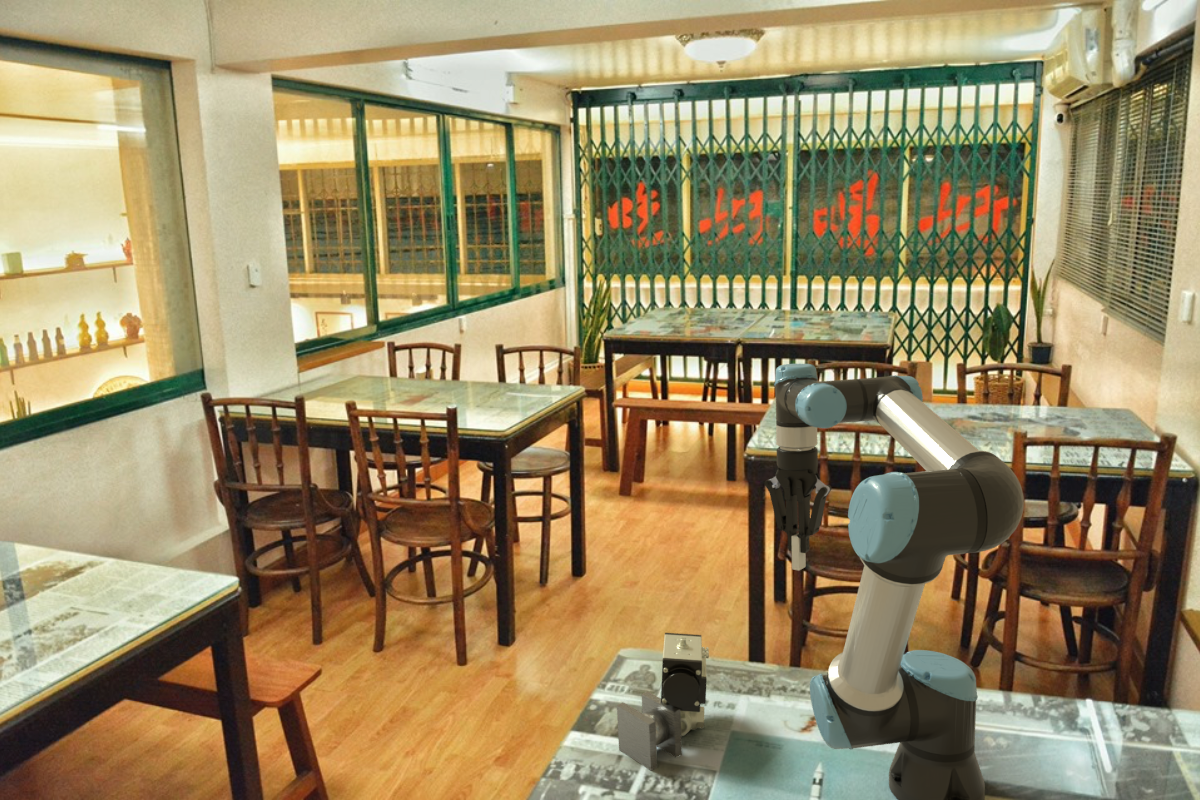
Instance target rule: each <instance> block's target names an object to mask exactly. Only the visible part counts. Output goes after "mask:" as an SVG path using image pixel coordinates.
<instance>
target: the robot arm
mask: <svg viewBox="0 0 1200 800" xmlns="http://www.w3.org/2000/svg"><path fill="white" fill-rule="evenodd" d="M817 374H818V373H817V369H816V366H815V365H814V364H810V363H789V364H788V363H786V364H782V365H778V367H776V369H775V377H774V384H773V385H774V386H773V387H774V389H775V390H774V391H775V392H774V393H775V396H774V397H775V420H776V422H775V424H776V426H775V429H776V432H775V436H776V437H775V439H776V441H775V444H776V445H777V446H778V447H777V448H776V466H777V470H776V473H775V476H773V477H772V478H770V479H767V480H765V481H764V486H765V487H766V489H767V491H768V493H769V496H770V497H769V498H770V501H771V505H772V508H773V513H774V517H775V518H774V519H775V521H776V524H777V525H776V526H777V529H778V530H779V531H783V532H785V533H786V535H787V550H788V551H789V552H791V570H795V571H801V570H802V569H804V568H806V566H807V564H806V563H807V562H806V560H807V559H806V554H807V553H808V552H809V551H810V537H811V536H813V535H815V534H817V533H818V532H819V531H820V527H821V524H822V523H821V522H822V518H823V514H824V510H825V506H826V502H827V497H828V496H829V494H830V493H831V491H832V486H831V485H830V484H825V483H824V482H823V481H821V478H820V477H821V476H820V475H819V472H818V466H819V465H818V463H819V461H818V458H819V457H818V455H819V453H818V452H819V451H818V448H817V446H816V445H818V428H819V429H830V428H834V426H837V425H838V424H841V423H842V424H844V423H854V422H855V423H856V422H873V421H876V422H877V424H879V425H880V426H881V428H883V429H884V430H885V431H886V432H887V433H888V434H889V435H891V437H892V438H893V439H895V441H896V442H897V443H898V444H899V445H900V446H901V447H902V448H903V449H904V450H906V451H907V453H908V454H909V455H910V456H911V457H912V458H913V459H914V460H915V461H916V462H917V463H918V464H919V465H920V466H921V467H922V468H923V469H924V470H925V471H917V472H916V471H915V472H907V473H906V472H905V473H904V472H900V471H899V472H898V471H891V472H887V473H884V474H879V475H873V476H869V477H867V478H865V479H863V480H862V481H861V482H860V483H859V484H858V485H857V486H856V487H855V489H854V491H853V493H852V496H851V498H850V501H849V506H848V512H847V513H848V514H847V517H848V519H849V523H848V524H847V525H848V526H847V527H848V528H847V530H848V536H849V539H850V543H851V546H852V549H853V551H854V552H855V553H856V555H857V556H858V557H859V560H860V561H861V563H863V568H862V569H863V570H862V573H861V576H860V577H861V578H860V582H859V585H858V589H857V595H856V598H855V602H854V606H853V610H852V614H851V619H850V623H849V625H848V626H849V627H848V631H847V635H846V639H845V644H844V647H843V650H842V652H841V653H838V654H837V655H836V656H835V657H834V658H833V659H832V661H831V662H830V665H829V666H828V670H827V673H826V674H822V673H818V675H814V676H812V677H811V679H810V681H809V693H810V702H811V707H812V711H813V715H814V719H815V723H816V725H817V728H818V730H819V733H820V735H821V737H822V739H823V741H824V743H825V744H827V746H828V747H830V748H831V749H833V750H845V749H848V750H853V749H859V748H860V749H861V748H866V747H875V746H882V745H890V744H891V745H892V744H898V746H897V749H896V751H895V754H894V756H893V758H892V762H891V764H890V766H889V770H888V787H889V789H890V792H891V793H892V795H893V796H894V797H895V798H896V800H986V799H985V797H986V795H985V794H986V784H985V780H984V776H983V773H982V771H981V767H980V764H979V762H978V758H977V756H976V753H975V748H976V747H975V741H976V718H977V715H976V714H977V713H976V712H977V700H978V691H977V690H978V689H977V678H976V674H975V672H974V671H973V670H972V668H971V667H969V665H967V664H966V663H965V662H964V661H962V660H960V659H958V658H956V657H954V656H951V655H949V654H946V653H943V652H939V651H934V650H926V649H925V650H924V649H914V650H910V651H907V652H905V651H906V647H907V644H908V640H909V638H910V635H911V631H912V627H913V625H914V621H915V618H916V615H917V611H918V608H919V606H920V602H921V598H922V595H923V592H924V589H925V585H926V584H928V583H931V582H933V581H934V580H936V579H937V578H938V576H939V575H940V574H941V572H942V570H943V566H944V563H945V560H946V558H947V557H948V556H953V555H964V554H975V553H981V552H986V551H989V550H992V549H994V548H997V547H999V546H1000V545H1001V544H1003V543H1004V542H1006V541H1007V540H1008V539H1009V538H1010V537H1011V536H1012V534H1014V532H1015V531H1016V530H1017V528H1018V526H1019V524H1020V522H1021V520H1022V517H1023V512H1024V506H1025V504H1024V501H1025V500H1024V499H1025V498H1024V492H1023V489H1022V485H1021V482H1020V481H1019V478H1018V477H1017V475H1016V474H1015V473H1014V471H1013V470H1012V469H1011V467H1009V466H1008V464H1007V463H1005V462H1004V461H1003V460H1002V459H1000V458H999V457H998V456H997V455H996V454H995V453H993V452H990V451H988V450H979V449H978V448H976V447H975V446H974V445H973V444H972V443H971V442H970V441H968V440H967V439H966V438H965V437H964V436H963V435H961V434H960V433H959V432H958V431H957V430H956V429H954V427H952V426H951V425H950V424H949V423H947V422H946V421H945V420H944V419H943V418H942V417H940V416H939V415H938V414H937V413H935V412H934V410H932V409H931V408H930V407H929V406H928V405H926V404H925V403H924V402H923V401H924V400H923V399H924V397H923V390H922V387H921V386H920V385H919V384H920V383H919V381H918V380H917V379H916V378H915V377H913V376H911V375H910V376H909V375H897V374H896V375H888V376H879V377H878V376H877V377H865V378H851V379H840V380H839V379H837V380H824V381H823V380H821V381H820V380H818V379H819V378H818V375H817ZM782 489H783V492H782ZM814 489H815V494H816V495H815V497H814V500H813V505H812V510H811V498H812V492H813V490H814ZM783 493H784V494H783ZM783 495H784V497H783Z"/></svg>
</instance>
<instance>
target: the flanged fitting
mask: <svg viewBox="0 0 1200 800" xmlns="http://www.w3.org/2000/svg"><path fill="white" fill-rule="evenodd" d="M641 707H642V708H641V709H642V711H641V712H640V711H639V710H637V709H635V708H633V707H632V706H630V705H628V704H626V703H625V702H621V703H618V704H617V705H616V714H617V715H616V716H617V733H618V734H617V735H618V738H617V739H618V751H620V752H622V753H623V754H625V755H626V756H628V757H629V758H631V759H633V760H634V761H635V762H637V763H638V764H640V765H641V766H643V767H645V768H646V769H648V770H649V771H653V770H655V769H657V768H658V754H657V751H658V749H657V748H659V749H660V750H662V751H664V752H665V753H668V754H669V755H670V756H673V757H674V758H678V757H681V756H682V755H683V747H682V745H683V744H682V736H681V714H680V709H679V708H676V707H673V706H671V705H670V704H669V703H668V702H666V703H665V704H664V703H663V702H661V697H659V696H658V695H655V694H653V693H652V692H650V691H645V692H643V693H642V694H641Z"/></svg>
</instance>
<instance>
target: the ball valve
mask: <svg viewBox="0 0 1200 800" xmlns="http://www.w3.org/2000/svg"><path fill="white" fill-rule="evenodd" d="M702 637H703V636H702V634H692V633H690V634H689V633H678V632H677V633H676V632H664V637H663V639H664V640H663V652H662V663H661V665H662V667H661V670H662V671H661V690H660V691H661V692H660V698H661V702H663V703H664V704H665V703H666V702H668V703H669V704H670V705H671V706H673V707H676V708H679V709H680V714H681V737H685V736H686V734H688V733H689V732H690V731H691V730H692V731H694V730H695V731H696V730H697V729H704V727H705V706H701V704H703V705H705V704H706V703H707V698H706V697H707V683H708V682H707V659H710V658H709V657H710V652H709V650H710V648H709V646H706V647H705V646H702V645H703V644H702V643H703V642H702V641H703V639H702Z"/></svg>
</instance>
